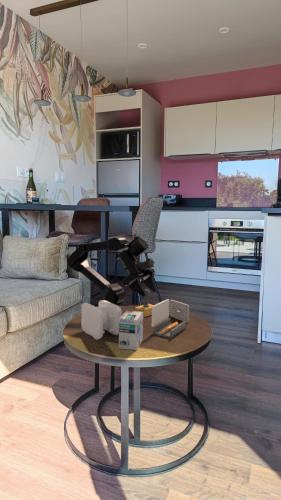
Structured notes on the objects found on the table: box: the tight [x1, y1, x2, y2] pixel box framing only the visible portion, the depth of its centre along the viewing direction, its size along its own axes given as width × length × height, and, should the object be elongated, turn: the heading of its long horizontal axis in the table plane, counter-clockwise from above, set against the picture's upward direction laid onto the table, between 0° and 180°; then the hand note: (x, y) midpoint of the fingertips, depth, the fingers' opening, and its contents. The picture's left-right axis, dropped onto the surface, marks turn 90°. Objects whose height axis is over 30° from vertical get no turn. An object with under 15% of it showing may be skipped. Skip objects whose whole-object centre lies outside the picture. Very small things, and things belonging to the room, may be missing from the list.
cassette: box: [169, 299, 190, 323], centre depth 150 cm, size 12×2×8 cm, turn 37°
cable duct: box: [152, 317, 187, 340], centre depth 133 cm, size 8×14×3 cm, turn 150°
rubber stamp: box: [134, 288, 155, 318], centre depth 155 cm, size 10×6×12 cm, turn 139°
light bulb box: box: [118, 310, 144, 351], centre depth 118 cm, size 11×7×11 cm, turn 168°
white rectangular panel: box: [150, 298, 170, 327], centre depth 134 cm, size 8×14×1 cm
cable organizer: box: [81, 299, 123, 341], centre depth 128 cm, size 15×11×12 cm
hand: (150, 293), depth 137 cm, fingers open, 9 cm apart
